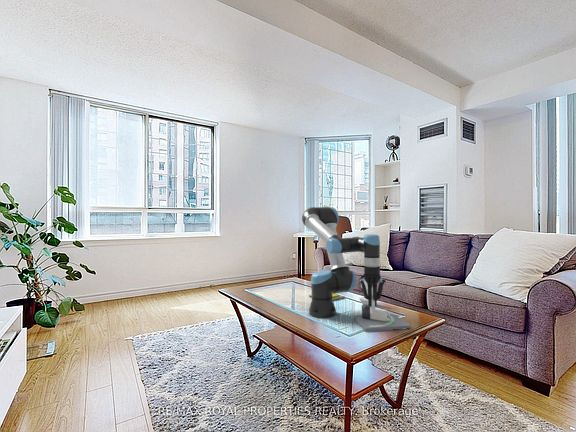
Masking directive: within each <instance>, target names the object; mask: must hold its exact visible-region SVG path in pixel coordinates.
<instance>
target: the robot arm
mask: <svg viewBox="0 0 576 432" xmlns="http://www.w3.org/2000/svg"><path fill="white" fill-rule="evenodd" d="M339 219H340V217H339V212H338V211H337V209H336V208H334V207H329V206H324V207H323V206H322V207H319V206H317V207H314V206H313V207H308V208H307V209H305V211H304V212H303V213H302V217H301V221H302V223H303V225H304V226H305V227H306V228H307V229H308V230H309V229H310V230H311V231H312V232H313V233H314V234H315V235H317V237H318V238H320V240H322V241H323V242H324V243H325V248H326V253H327V256H328V260H329V264H330V270H327V269H326V270H318V271H315V272H313V273H312V274H311V276H310V277H311V278H310V283H311V285H310V286H311V294H312V297H311V302H310V305H309V307H308V314H309V316H311V315H312V316H311V317H315V318H333V317H334V316H336V315H337V309H336V305H335V303H334V300H333V299H332V294H333V293H336V294H340V293H341V294H342V293H347V292H351V291H354V289H355V288H356V285H357V275H356V273H355V272H354V271H353V270H350V267H349V266H348V265H347V264H346V261H345V258H344V255H343V254H344V253H345V254H346V253H359V252H360V253H363V260H364V261H363V263H364V264H363V265H364V266H363V267H364V268H363V272H364V274H363V277H362V278H361V279H359V280H358V282H359V284H360V287H361V286H362V288H361V289H362V293H363V297H364V298H365V299H367V300H368V306H369V307H370V313H372V314H375V308H376V307H377V306H378V305H377V304H378V303H377V301H378V300H381V298H382V293H383V289H384V284H385V283H386V280H385V279H384V278H382V276H381V267H380V266H381V259H380V258H381V257H380V256H381V255H380V254H381V252H380V251H381V249H380V248H381V241H380V236H379V235H378V234H370V233H369V234H364V236H363V237H359V236H352V237H341V236H339V235H338V232H337V229H336V228H337V226H338V224H339V221H340V220H339ZM365 281H366V282H367V285H368V294H367V290H366V286H365ZM372 287H373V296H372ZM372 298H373V299H372Z"/></svg>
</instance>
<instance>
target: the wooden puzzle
mask: <svg viewBox="0 0 576 432" xmlns="http://www.w3.org/2000/svg"><path fill="white" fill-rule="evenodd" d="M309 296H310V297H311V298H312V293H310V294H309V295H308V297H309ZM332 299H333V301H336V300H342V299H346V298H345V296H344V295H342V296H341V295H339V293H333V294H332Z"/></svg>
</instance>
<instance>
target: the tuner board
mask: <svg viewBox="0 0 576 432" xmlns="http://www.w3.org/2000/svg"><path fill="white" fill-rule="evenodd" d="M352 318H353V319H352V320H354V321H355V322H356V324H357V325H358V326H359V327H361V329H362V330H363V331H364V332H366V333H367V332H377V331H379V332H381V331H394V330H393V329H399V330H404V329H403V328H410V329H411V325H410V324H409V323H407V322H406V321H404V320H403V319H401V318H400V317H398V316H397V315H396V314H394V313H387V318H388V319H390V321H380V320H374V319H364V318H362V315H354V316H352Z"/></svg>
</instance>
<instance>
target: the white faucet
mask: <svg viewBox="0 0 576 432" xmlns="http://www.w3.org/2000/svg"><path fill="white" fill-rule="evenodd" d="M364 284H365V286H366V290H367V294H368V285H367V282H366V281H365V283H364ZM360 288H361V289H362V286H361V285H360ZM358 299H359V301H360V302H361V304H362V305H365V304H367V305H368V300H367V299H365V298H364V296H362V297H359V298H358ZM372 299H373V286H372Z"/></svg>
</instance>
